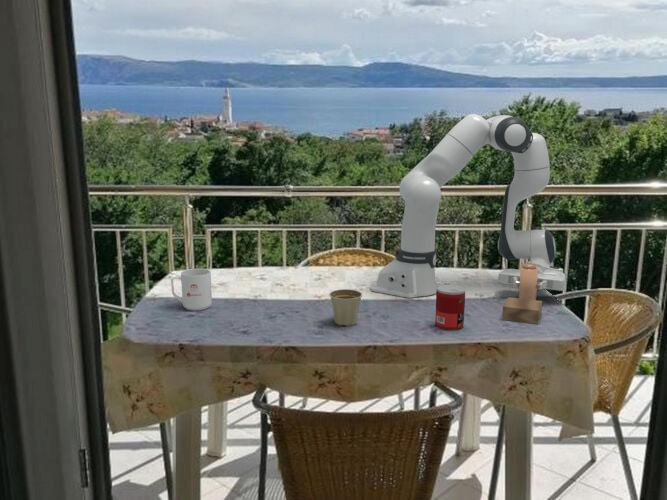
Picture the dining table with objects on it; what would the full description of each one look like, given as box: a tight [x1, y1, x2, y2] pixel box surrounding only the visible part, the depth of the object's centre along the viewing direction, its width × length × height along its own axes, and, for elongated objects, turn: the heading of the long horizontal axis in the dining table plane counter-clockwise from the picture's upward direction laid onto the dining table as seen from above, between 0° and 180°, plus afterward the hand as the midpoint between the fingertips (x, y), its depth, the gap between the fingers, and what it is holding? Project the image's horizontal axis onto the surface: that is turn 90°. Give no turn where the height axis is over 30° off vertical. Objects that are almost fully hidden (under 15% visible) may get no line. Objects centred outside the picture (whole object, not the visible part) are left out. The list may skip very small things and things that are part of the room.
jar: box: [518, 262, 538, 300], centre depth 199 cm, size 5×5×13 cm
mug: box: [170, 268, 213, 312], centre depth 198 cm, size 12×9×11 cm
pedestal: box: [501, 296, 543, 325], centre depth 189 cm, size 10×10×4 cm
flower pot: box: [328, 288, 363, 327], centre depth 184 cm, size 9×9×9 cm
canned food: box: [434, 284, 466, 331], centre depth 181 cm, size 8×8×11 cm
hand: (527, 285), depth 198 cm, fingers closed on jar, 5 cm apart
